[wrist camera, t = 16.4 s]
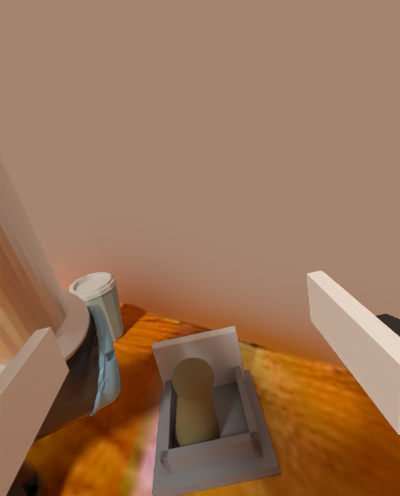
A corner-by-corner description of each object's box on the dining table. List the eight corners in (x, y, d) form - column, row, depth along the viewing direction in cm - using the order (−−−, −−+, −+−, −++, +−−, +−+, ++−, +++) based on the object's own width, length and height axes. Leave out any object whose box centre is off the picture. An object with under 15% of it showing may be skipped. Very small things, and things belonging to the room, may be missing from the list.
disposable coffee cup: (139, 333, 69) (121, 275, 64) (95, 358, 63) (71, 297, 59) (121, 318, 77) (104, 266, 73) (81, 339, 72) (59, 284, 67)
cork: (174, 457, 37) (166, 388, 33) (175, 415, 42) (168, 352, 39) (222, 452, 37) (220, 383, 33) (217, 411, 43) (214, 348, 39)
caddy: (280, 473, 34) (268, 404, 31) (154, 500, 34) (130, 434, 31) (250, 375, 50) (240, 322, 46) (163, 394, 50) (147, 342, 46)
